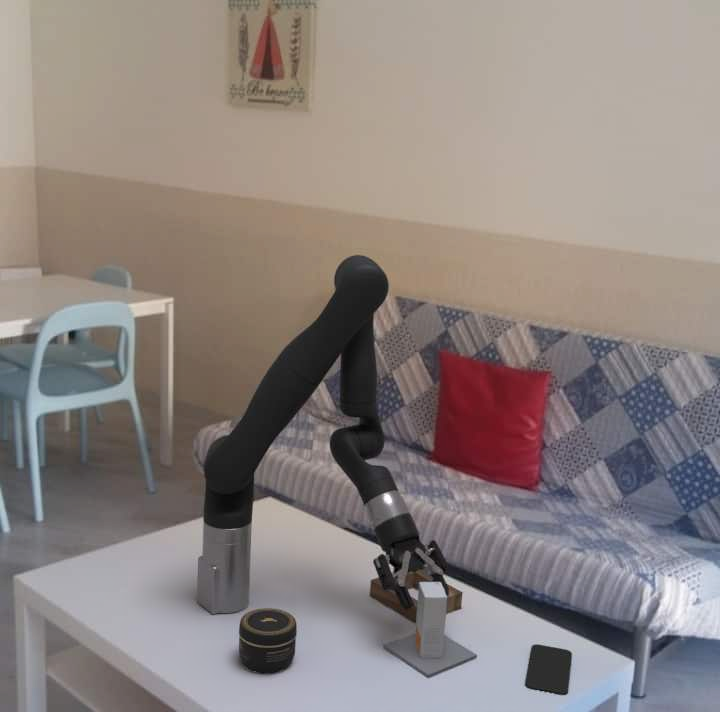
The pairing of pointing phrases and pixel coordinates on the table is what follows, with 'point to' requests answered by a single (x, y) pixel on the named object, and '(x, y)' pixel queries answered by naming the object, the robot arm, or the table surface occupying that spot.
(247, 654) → the jar
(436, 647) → the skincare box
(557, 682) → the phone
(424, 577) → the brown wooden rectangular frame
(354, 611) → the table surface
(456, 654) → the rubber mat
